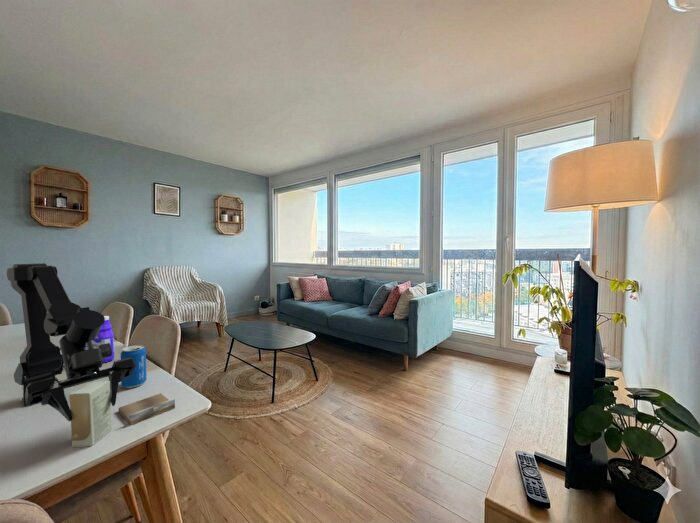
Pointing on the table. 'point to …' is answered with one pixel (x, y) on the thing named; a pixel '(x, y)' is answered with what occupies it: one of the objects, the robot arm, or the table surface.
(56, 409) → the robot arm
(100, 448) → the table surface
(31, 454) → the table surface
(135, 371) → the beverage can
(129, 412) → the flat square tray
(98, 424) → the skincare box
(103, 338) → the bottle
